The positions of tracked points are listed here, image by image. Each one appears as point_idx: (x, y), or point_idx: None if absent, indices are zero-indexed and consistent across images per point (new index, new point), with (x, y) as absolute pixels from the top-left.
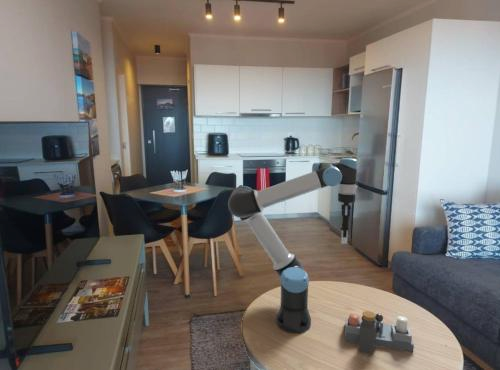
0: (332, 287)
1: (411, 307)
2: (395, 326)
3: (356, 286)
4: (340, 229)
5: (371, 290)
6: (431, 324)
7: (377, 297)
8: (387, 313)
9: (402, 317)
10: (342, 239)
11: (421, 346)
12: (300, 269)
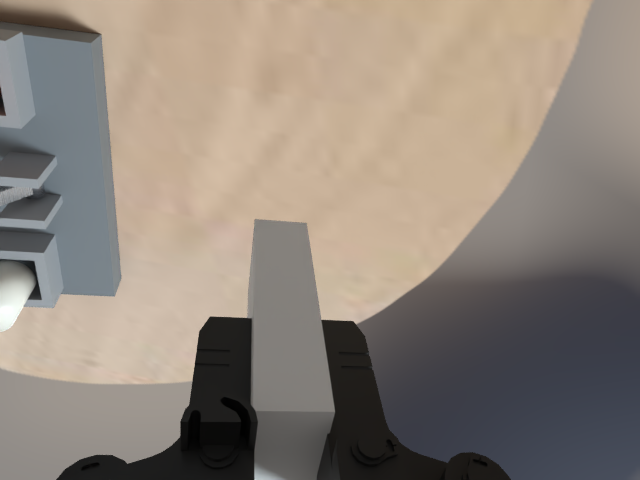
0: (508, 10)
1: None
2: (36, 263)
3: (507, 151)
4: (194, 408)
5: (461, 213)
6: None
7: (394, 227)
8: None
9: (4, 317)
10: (253, 276)
11: None
12: None
